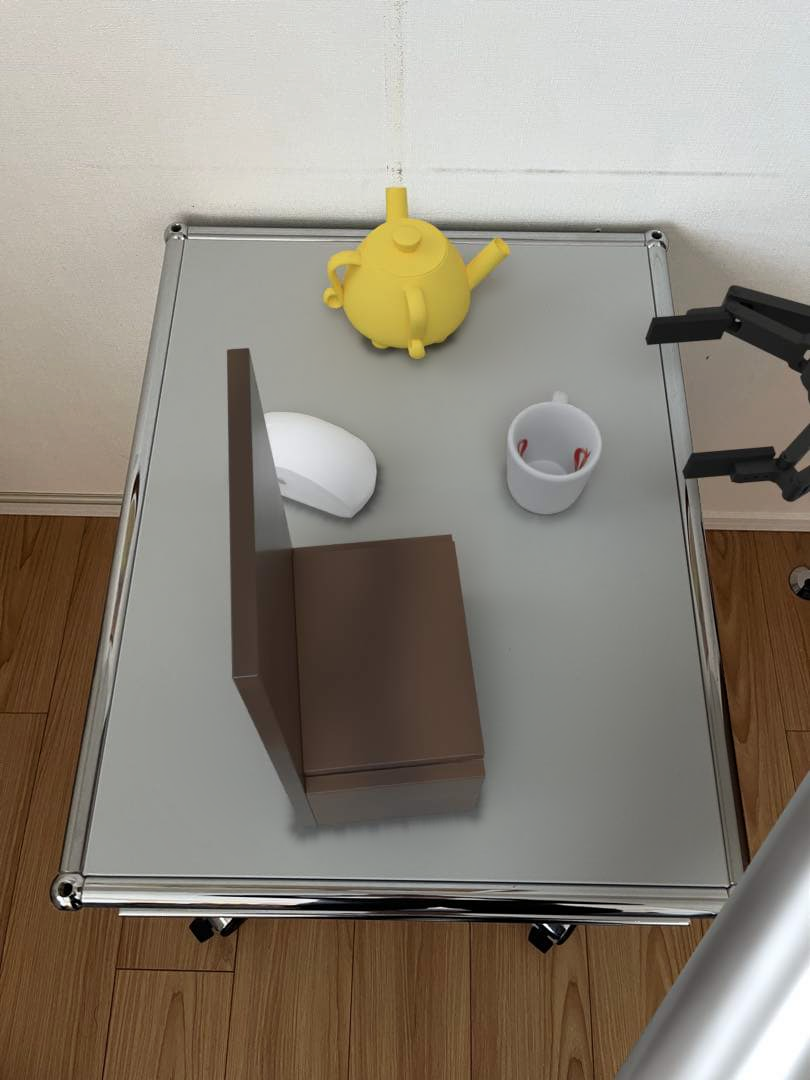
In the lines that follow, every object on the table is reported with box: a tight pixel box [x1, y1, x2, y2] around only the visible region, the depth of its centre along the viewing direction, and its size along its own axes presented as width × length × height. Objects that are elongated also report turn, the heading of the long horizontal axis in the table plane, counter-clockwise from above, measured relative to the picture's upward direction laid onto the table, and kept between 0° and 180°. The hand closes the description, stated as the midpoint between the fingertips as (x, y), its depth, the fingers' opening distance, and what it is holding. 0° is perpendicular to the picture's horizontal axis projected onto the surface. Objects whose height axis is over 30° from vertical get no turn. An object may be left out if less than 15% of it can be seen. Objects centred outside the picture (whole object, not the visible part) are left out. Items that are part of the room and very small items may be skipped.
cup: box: [506, 390, 603, 515], centre depth 82 cm, size 11×8×8 cm
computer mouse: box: [263, 411, 378, 519], centre depth 83 cm, size 6×13×6 cm, turn 67°
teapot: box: [322, 186, 511, 360], centre depth 90 cm, size 14×14×11 cm
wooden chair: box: [226, 347, 486, 829], centre depth 61 cm, size 13×18×34 cm
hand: (667, 396), depth 77 cm, fingers open, 13 cm apart
